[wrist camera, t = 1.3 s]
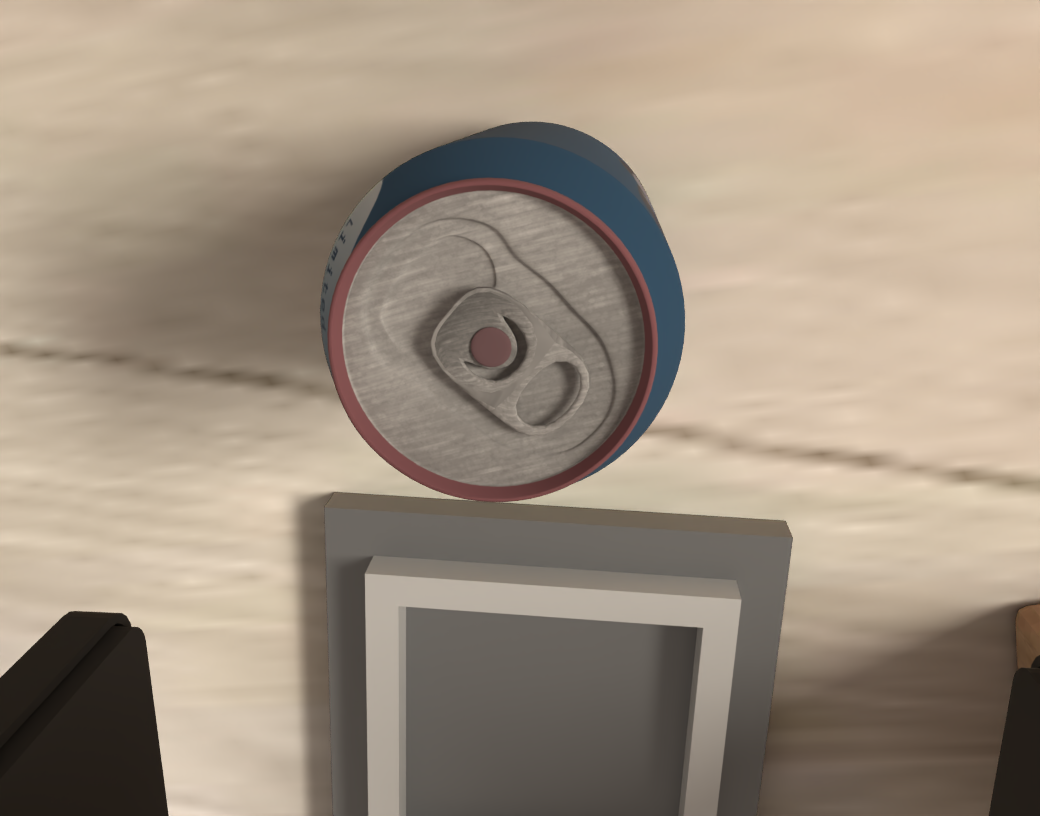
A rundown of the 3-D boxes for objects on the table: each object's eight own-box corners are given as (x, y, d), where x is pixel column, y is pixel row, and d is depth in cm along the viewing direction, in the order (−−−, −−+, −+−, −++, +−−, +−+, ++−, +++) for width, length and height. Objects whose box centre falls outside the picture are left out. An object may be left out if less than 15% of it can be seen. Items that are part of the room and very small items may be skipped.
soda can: (367, 258, 29) (214, 366, 18) (521, 65, 27) (461, 46, 16) (547, 409, 30) (513, 605, 18) (708, 234, 28) (781, 332, 17)
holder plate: (334, 491, 31) (313, 523, 29) (785, 520, 30) (800, 555, 28) (343, 854, 36) (325, 907, 33) (738, 889, 35) (748, 945, 32)
